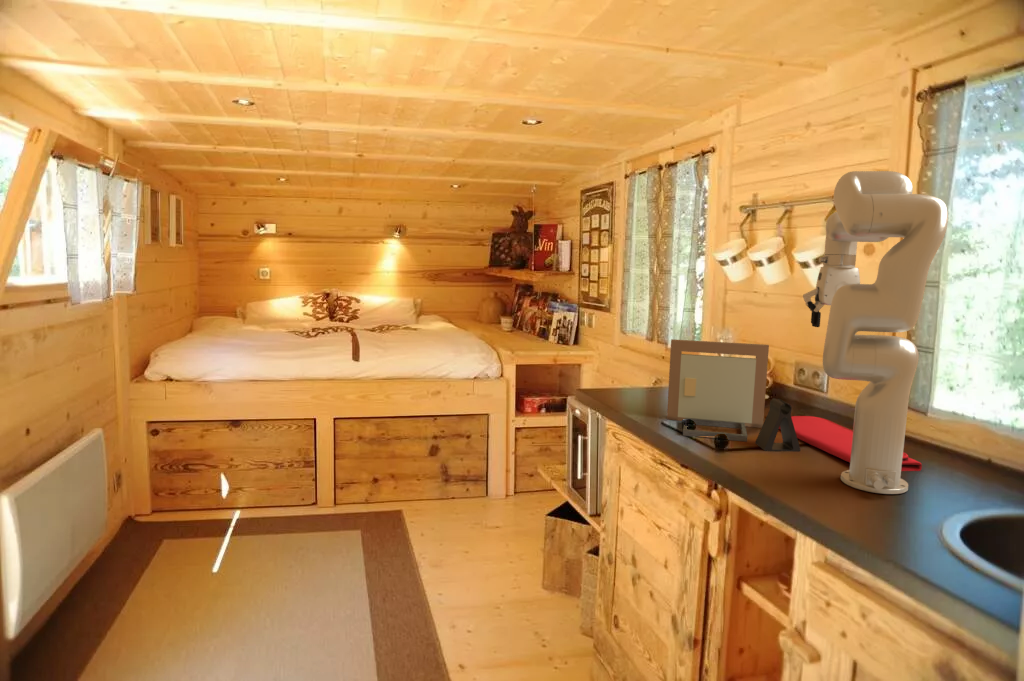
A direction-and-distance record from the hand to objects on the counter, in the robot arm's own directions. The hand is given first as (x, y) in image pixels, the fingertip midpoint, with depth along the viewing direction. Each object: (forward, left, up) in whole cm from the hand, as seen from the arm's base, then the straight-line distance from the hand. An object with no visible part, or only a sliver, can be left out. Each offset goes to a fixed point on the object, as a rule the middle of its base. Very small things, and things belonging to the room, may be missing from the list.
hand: (833, 327), depth 178 cm
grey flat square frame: (-9, +29, -29) cm, 42 cm away
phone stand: (-19, +14, -29) cm, 37 cm away
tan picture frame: (+1, +29, -29) cm, 41 cm away
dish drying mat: (-11, -1, -30) cm, 32 cm away
